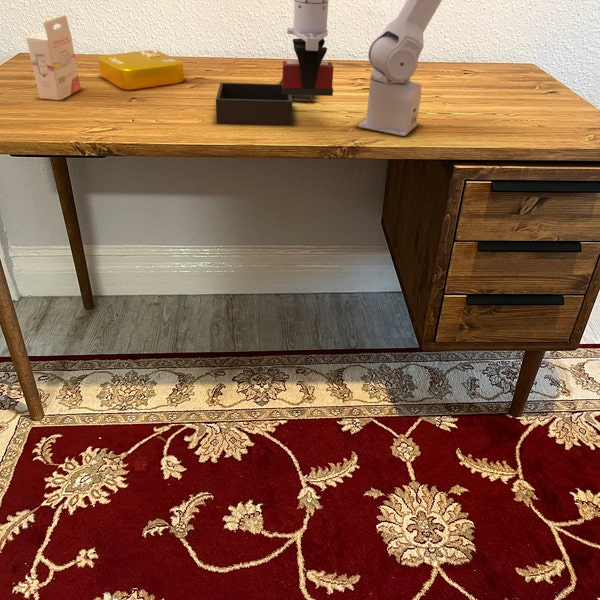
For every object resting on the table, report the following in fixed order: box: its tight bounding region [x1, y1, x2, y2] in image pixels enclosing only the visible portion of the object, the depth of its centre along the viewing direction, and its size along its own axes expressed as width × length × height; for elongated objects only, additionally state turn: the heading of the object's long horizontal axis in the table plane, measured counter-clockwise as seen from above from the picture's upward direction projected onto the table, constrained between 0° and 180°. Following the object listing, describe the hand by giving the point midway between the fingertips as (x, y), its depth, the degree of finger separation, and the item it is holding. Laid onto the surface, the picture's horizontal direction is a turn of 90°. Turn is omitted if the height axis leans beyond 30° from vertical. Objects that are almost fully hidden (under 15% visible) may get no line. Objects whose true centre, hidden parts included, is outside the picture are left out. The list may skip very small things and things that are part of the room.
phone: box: [279, 77, 314, 103], centre depth 131 cm, size 8×1×15 cm
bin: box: [215, 82, 293, 126], centre depth 116 cm, size 14×12×4 cm
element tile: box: [98, 49, 185, 91], centre depth 134 cm, size 15×15×5 cm
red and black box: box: [281, 60, 334, 97], centre depth 106 cm, size 9×3×5 cm, turn 92°
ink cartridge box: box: [25, 14, 81, 101], centre depth 120 cm, size 9×5×15 cm, turn 168°
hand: (307, 84), depth 107 cm, fingers closed on red and black box, 3 cm apart
